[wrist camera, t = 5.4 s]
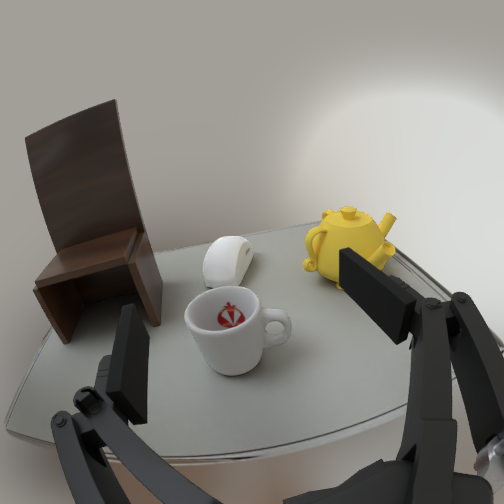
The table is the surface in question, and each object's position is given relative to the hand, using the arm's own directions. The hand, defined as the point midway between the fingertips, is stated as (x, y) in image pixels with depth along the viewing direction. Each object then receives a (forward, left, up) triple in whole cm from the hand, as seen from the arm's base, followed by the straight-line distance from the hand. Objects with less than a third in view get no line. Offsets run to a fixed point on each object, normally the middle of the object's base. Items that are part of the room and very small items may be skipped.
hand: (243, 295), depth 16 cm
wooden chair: (-6, +32, -15) cm, 36 cm away
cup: (+4, +8, -15) cm, 18 cm away
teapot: (+27, +7, -15) cm, 32 cm away
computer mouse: (+16, +26, -15) cm, 34 cm away
